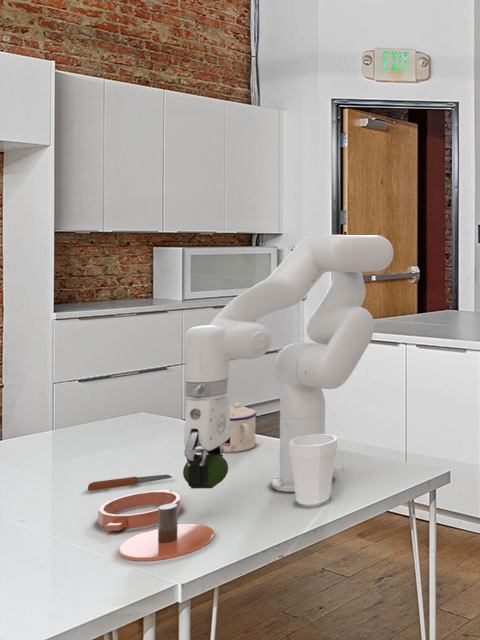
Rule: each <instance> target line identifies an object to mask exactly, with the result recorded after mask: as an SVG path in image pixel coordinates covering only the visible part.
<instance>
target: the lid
mask: <svg viewBox="0 0 480 640" xmlns="http://www.w3.org/2000/svg"><path fill="white" fill-rule="evenodd" d="M157 509H158V523H157V527H156V528H152V529H148V530H146V531H142V532H139V533H137V534H135V535H133V536H131V537H129V538H128V539H126V540H124V541H123V542H122V543H121V544H120V546H119V548H118V553H119V556H120V557H122V559H123V558H124V559H125V560H129V561H135V562H153V561H161V560H167V559H172V558H177V557H180V556H184V555H187V554H190V553H193V552H196V551H198V550H200V549H202V548H203V547H205V546H207V545H208V544H209V543H210V542H212V541H213V539H214V537H215V531H214V530H213V528H212V527H210V526H208V525H206V524H205V525H204V524H198V523H179V524H178V520H179V519H178V517H179V516H178V515H179V513H178V505H177V504H161V505H160V506H159V507H158V508H157Z"/></svg>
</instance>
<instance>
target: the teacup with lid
mask: <svg viewBox="0 0 480 640" xmlns="http://www.w3.org/2000/svg"><path fill="white" fill-rule="evenodd" d="M229 412H230V437H229V439H228V440H227V441H225V442H224V444H223V450H224V451H223V453H237V452H243V451H247V450H251V449H253V448H254V447H255V446H256V416H257V412H256V410H254V409H252V408H248V407H246V406H243V404H242V402H235V403H233V405H232V407H229ZM254 435H255V436H254Z"/></svg>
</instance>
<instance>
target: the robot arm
mask: <svg viewBox="0 0 480 640" xmlns="http://www.w3.org/2000/svg"><path fill="white" fill-rule="evenodd" d="M393 258H394V248H393V245H392V243H391V242H390V240H389V239H387V238H386V237H385V236H382V235H370V234H369V235H365V234H364V235H361V234H360V235H359V234H353V235H352V234H351V235H350V234H349V235H348V234H311V235H307V236H305V237H304V238H302V239H301V240H299V243H297V245H295V247H294V248H293V249H292V250H291V251H290V252H289V253H288V254H287V256H286V257H285V258H284V259H283V260H282V262H280V263H279V264H278V266H277V267H276V268H275V269H274V270H273V271H272V273H271V274H270V275H268V277H266V279H263V280H262V281H260V282H258V283H256V284H255V285H253V286H252V287H250V288H248V289H247V290H245V291H243V292H242V293H240V294H239V295H237V296H236V297H234V298H232V300H230V301H229V302H228V303H227V304H226V305H225V306H224V307H223V308H222V309H221V310H220V311H219V312H218V314H217V315H216V316H215V317H214V318H213V319H212V320H211V322H210V323H209V325H208V324H206V325H199V326H197V325H196V326H193V327H190V328H189V329H188V330H187V331H186V334H185V379H184V380H185V381H184V384H185V385H184V399H185V400H187V401H186V409H185V417H184V418H185V419H184V431H183V432H184V434H183V435H184V436H183V439H184V450H183V455H184V456H185V458H186V461H187V462H188V467H189V474H188V483H187V484H188V487H190V488H191V487H202V486H206V485H207V465H205V461H206V455H207V454H215V455H220V456H221V457H223V458H224V455H223V454H224V450H223V444H224V442H225V441H227V440H228V439H229V437H230V412H229V408H230V401H229V375H230V374H229V373H230V371H229V369H230V361H231V360H254V359H257V358H258V359H259V358H261V357H262V356H263V355H265V354H267V353H268V351H269V350H270V348H271V346H272V341H273V336H272V334H271V332H270V330H269V329H268V327H266V326H265V325H263V324H261V323H258V322H257V321H259V320H261V318H264V317H265V316H267V315H270V314H273V313H275V312H279V311H282V310H285V309H288V308H290V307H293V306H295V305H297V304H299V303H300V302H302V301H303V299H304V298H305V297H306V296H307V294H308V293H309V292H311V289H312V288H313V287H314V286H315V285H316V284H317V282H318V281H319V280H320V278H322V277H323V275H324V274H326V273H331V274H332V275H331V276H332V278H331V284H330V286H329V287H328V289H327V291H326V293H325V295H323V298H322V299H321V301H320V302H319V303H318V305H317V306H316V308H315V310H314V311H313V313H312V314H311V316H310V317H309V319H308V320H307V324H306V329H305V330H306V335H307V337H308V338H309V339H310V340H311V341H312V342H293V343H290V344H287V345H285V346H284V347H283V348H282V349H280V351H279V352H278V354H277V356H276V359H275V364H274V365H275V366H274V369H275V376H276V381H277V387H278V392H279V475H277V476H275V477H274V478H273V479H272V481H271V487H272V489H274V490H276V491H279V492H285V493H295V487H294V480H293V473H292V465H291V458H290V454H289V442H290V440H292V439H294V438H296V437H300V436H305V435H312V434H326V398H325V396H324V391H323V390H333V389H334V390H335V389H338V388H340V387H341V386H343V385H344V384H345V383H346V382H347V381H348V379H349V378H350V377H351V376H352V374H353V372H354V370H355V369H356V368H357V365H358V364H359V362H360V360H361V358H362V357H363V355H364V354H365V352H366V350H367V349H368V347H369V345H370V343H371V341H372V339H373V335H374V330H375V321H374V317H373V315H372V314H371V312H370V311H369V310H367V308H365V307H362V305H363V303H364V301H365V299H366V295H367V289H366V284H365V280H364V276H363V273H367V272H379V271H382V270H385V269H386V268H388V267H389V266H390V265H391V263H392V261H393ZM198 447H201V448H198ZM199 455H201V458H200V457H199ZM344 473H345V468H344V466H342V464H334V469H333V476H334V477H343V476H344Z"/></svg>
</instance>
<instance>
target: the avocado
mask: <svg viewBox="0 0 480 640" xmlns="http://www.w3.org/2000/svg"><path fill="white" fill-rule="evenodd" d="M198 455H199V457H200V458H201V454H198ZM220 455H221V454H220ZM220 455H215V454H207V455H206V461H205V465H207V485H206V486H202V487H190V489H192V490H194V489H213V488H215V487H216V486H217V485H218V484H220V483H221V482H223V481H224V479H225V478H226V477H227V475H228V472H229V464H228V461H227V460H226V459H225V457H224V456H223V457H221V456H220ZM188 474H189V467H188V461H187V462H186V463H185V465H184V466H183V470H182V477H183V479H184V481H185V482H186V483H187V484H188Z"/></svg>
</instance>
